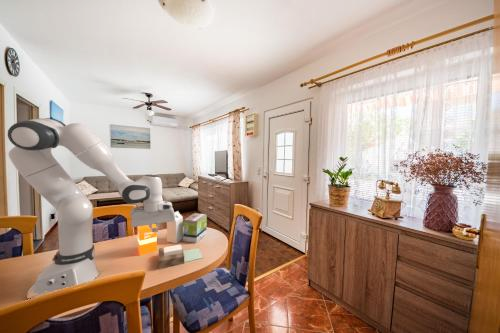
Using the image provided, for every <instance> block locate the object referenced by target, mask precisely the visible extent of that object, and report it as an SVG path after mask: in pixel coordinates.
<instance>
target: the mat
mask: <svg viewBox="0 0 500 333" xmlns="http://www.w3.org/2000/svg"><path fill="white" fill-rule="evenodd" d="M183 253H184V263H187V262H192V261H196V260H200V259H201V260H202V259H204V257H203V254H202V252H201V250H200V248H199V247H198V248H197V247H196V248H190V249H187V250H183Z"/></svg>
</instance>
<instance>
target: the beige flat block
mask: <svg viewBox="0 0 500 333" xmlns="http://www.w3.org/2000/svg"><path fill="white" fill-rule="evenodd" d="M163 248H164V256H169V255H174V254H179V253H182V250H183V246H182V244H180V243H179V244H176V245H171V246H166V247H163Z"/></svg>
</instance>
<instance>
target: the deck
mask: <svg viewBox="0 0 500 333" xmlns="http://www.w3.org/2000/svg"><path fill="white" fill-rule="evenodd" d="M183 251H184V250H183V249H182V253H179V254H174V255H169V256H164V247H160V248H158V269H159V270H163V269H166V268H171V267H175V266H180V265H183V264H185V262H184V253H183Z"/></svg>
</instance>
